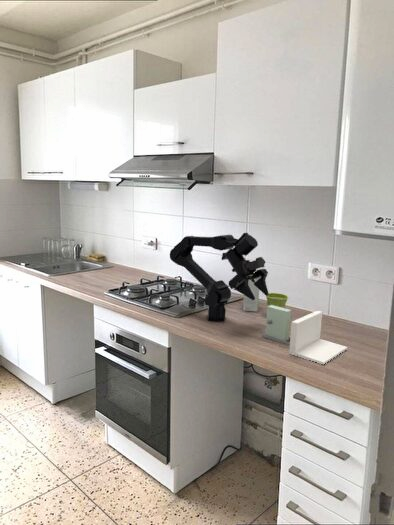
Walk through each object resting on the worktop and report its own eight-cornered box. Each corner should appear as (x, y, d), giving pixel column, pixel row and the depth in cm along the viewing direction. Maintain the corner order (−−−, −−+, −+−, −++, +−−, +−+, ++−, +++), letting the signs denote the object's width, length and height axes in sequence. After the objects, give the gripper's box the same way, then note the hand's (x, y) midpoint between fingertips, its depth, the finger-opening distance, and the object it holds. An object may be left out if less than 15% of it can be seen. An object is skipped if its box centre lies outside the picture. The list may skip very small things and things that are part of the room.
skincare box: (257, 312, 179) (259, 277, 176) (242, 310, 180) (244, 275, 177) (258, 306, 187) (261, 273, 184) (243, 305, 189) (246, 271, 186)
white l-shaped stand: (251, 340, 146) (253, 310, 144) (278, 328, 159) (280, 301, 157) (323, 365, 129) (327, 331, 127) (346, 349, 142) (350, 318, 140)
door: (263, 336, 150) (265, 307, 148) (269, 333, 153) (271, 304, 151) (283, 342, 145) (285, 312, 143) (288, 339, 148) (291, 310, 146)
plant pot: (282, 312, 181) (283, 292, 179) (290, 319, 172) (291, 298, 170) (261, 312, 179) (262, 292, 178) (268, 319, 170) (269, 298, 169)
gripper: (237, 252, 146) (261, 289, 141) (265, 247, 160) (288, 281, 155) (218, 270, 152) (241, 306, 147) (247, 264, 166) (268, 297, 161)
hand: (261, 297), depth 153 cm, fingers open, 9 cm apart
